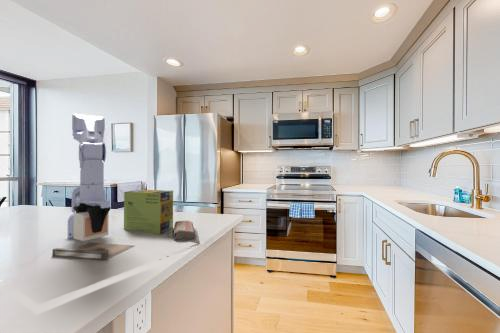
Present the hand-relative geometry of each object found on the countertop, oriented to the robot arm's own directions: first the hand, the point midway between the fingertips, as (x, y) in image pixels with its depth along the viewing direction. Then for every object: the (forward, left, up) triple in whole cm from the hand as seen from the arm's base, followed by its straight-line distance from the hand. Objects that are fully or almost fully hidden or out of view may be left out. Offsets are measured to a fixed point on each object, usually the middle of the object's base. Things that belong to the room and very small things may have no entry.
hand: (91, 230), depth 72 cm
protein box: (+1, +27, -7) cm, 28 cm away
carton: (0, 0, -2) cm, 2 cm away
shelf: (+3, -1, -7) cm, 7 cm away
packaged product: (+19, +20, -7) cm, 29 cm away
